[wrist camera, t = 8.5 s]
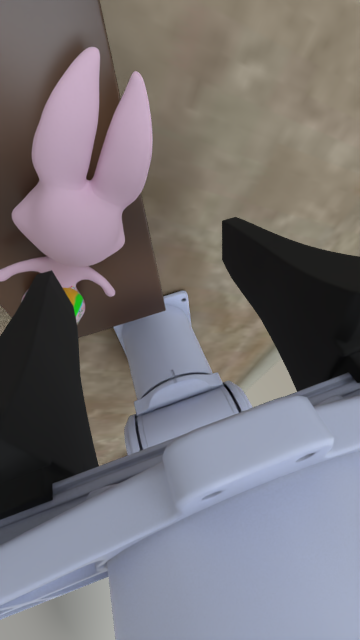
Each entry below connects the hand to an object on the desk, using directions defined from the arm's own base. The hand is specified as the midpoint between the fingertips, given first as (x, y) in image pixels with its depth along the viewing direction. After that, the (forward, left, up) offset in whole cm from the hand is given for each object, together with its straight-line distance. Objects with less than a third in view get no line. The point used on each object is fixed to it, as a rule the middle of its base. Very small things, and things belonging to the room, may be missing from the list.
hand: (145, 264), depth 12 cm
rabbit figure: (0, +3, -6) cm, 6 cm away
